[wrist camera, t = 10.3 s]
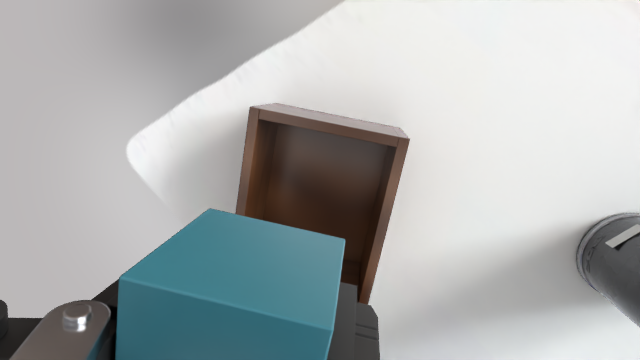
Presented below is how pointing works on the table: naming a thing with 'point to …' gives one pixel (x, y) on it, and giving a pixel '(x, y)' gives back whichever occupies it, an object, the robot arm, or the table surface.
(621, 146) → the table surface
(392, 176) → the chest
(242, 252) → the block
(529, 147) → the table surface
